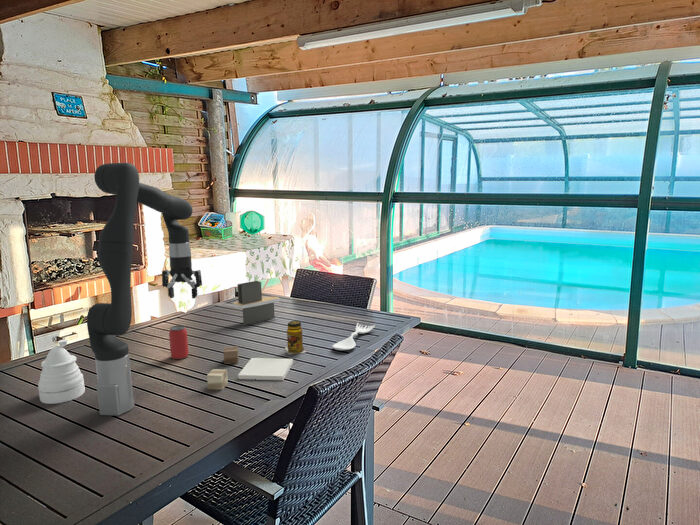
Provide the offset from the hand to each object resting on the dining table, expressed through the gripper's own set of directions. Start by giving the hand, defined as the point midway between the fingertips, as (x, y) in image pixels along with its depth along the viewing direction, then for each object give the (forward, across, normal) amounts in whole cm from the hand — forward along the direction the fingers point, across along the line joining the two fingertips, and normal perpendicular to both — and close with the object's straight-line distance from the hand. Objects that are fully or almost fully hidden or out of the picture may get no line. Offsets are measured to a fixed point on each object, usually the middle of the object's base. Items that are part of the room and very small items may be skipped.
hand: (183, 297), depth 183 cm
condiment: (+25, +39, +15) cm, 48 cm away
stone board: (+25, +32, -6) cm, 41 cm away
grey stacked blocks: (+25, +12, +53) cm, 60 cm away
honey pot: (+26, -30, -29) cm, 49 cm away
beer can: (+25, -6, +6) cm, 27 cm away
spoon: (+25, +61, +27) cm, 72 cm away
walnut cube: (+25, +16, +2) cm, 30 cm away
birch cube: (+26, +19, -20) cm, 38 cm away
